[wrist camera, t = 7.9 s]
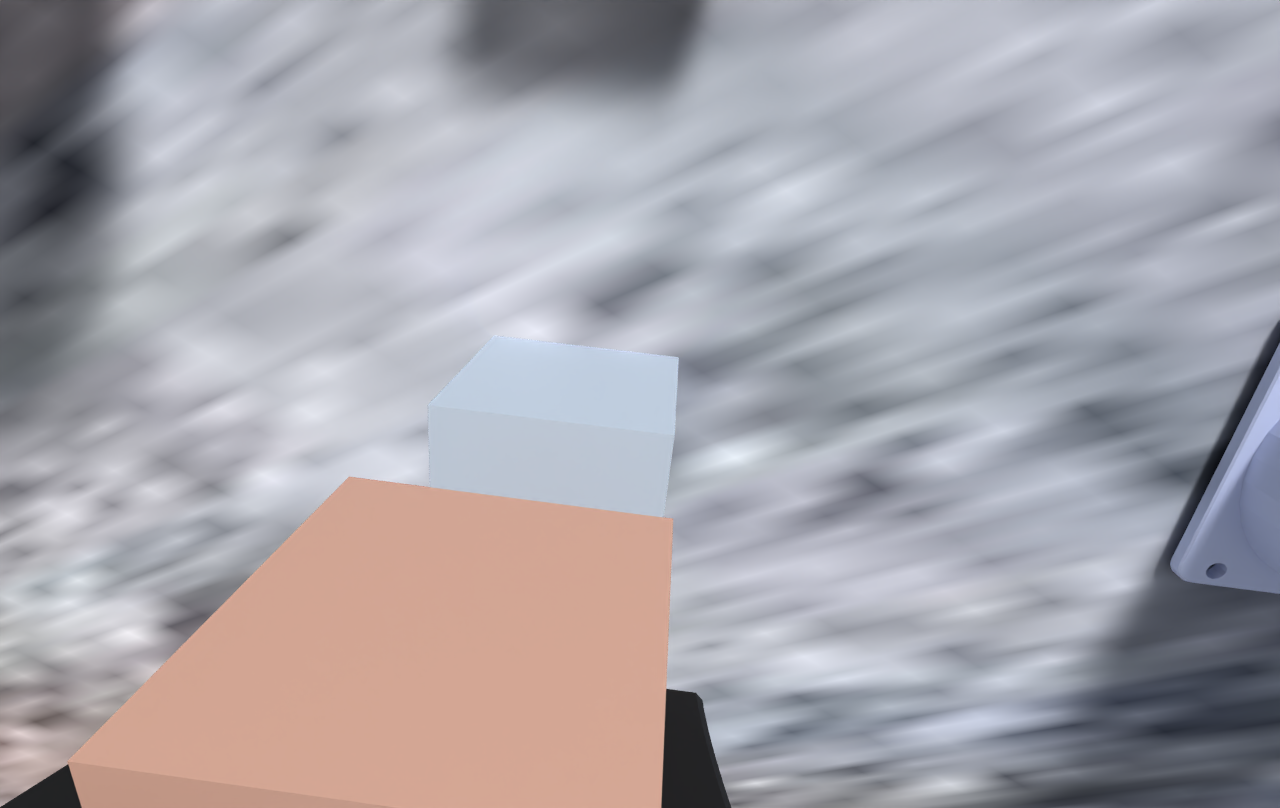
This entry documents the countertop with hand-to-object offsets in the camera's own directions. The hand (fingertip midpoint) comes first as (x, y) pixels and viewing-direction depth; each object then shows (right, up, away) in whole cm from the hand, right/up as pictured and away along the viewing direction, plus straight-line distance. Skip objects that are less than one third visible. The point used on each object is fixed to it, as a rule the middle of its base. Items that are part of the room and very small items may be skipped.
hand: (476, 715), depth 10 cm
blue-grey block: (+1, +4, +9) cm, 10 cm away
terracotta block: (0, +1, +1) cm, 2 cm away
